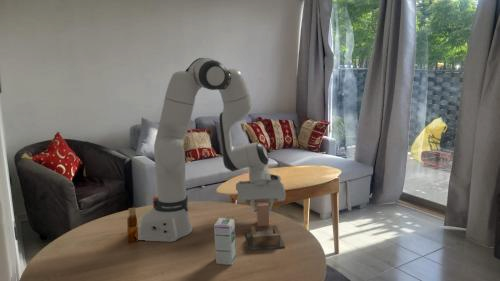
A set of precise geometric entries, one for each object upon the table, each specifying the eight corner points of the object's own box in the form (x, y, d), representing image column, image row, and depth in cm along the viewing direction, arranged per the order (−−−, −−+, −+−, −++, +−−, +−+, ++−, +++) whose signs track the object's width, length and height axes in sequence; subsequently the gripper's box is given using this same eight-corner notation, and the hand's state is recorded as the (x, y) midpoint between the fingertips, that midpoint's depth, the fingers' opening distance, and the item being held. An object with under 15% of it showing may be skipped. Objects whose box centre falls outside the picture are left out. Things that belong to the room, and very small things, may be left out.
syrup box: (232, 265, 130) (231, 225, 127) (215, 263, 131) (213, 224, 128) (236, 256, 135) (235, 218, 132) (220, 255, 137) (218, 217, 133)
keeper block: (257, 226, 158) (257, 205, 156) (256, 221, 163) (256, 201, 161) (268, 225, 159) (268, 205, 157) (267, 221, 163) (267, 200, 161)
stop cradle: (249, 250, 140) (248, 238, 139) (246, 233, 152) (246, 222, 151) (284, 247, 141) (284, 236, 140) (279, 231, 153) (279, 220, 152)
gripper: (235, 178, 163) (237, 209, 155) (283, 176, 164) (288, 206, 157) (235, 184, 168) (237, 215, 161) (282, 182, 170) (286, 212, 162)
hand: (262, 210), depth 159 cm, fingers closed on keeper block, 4 cm apart
